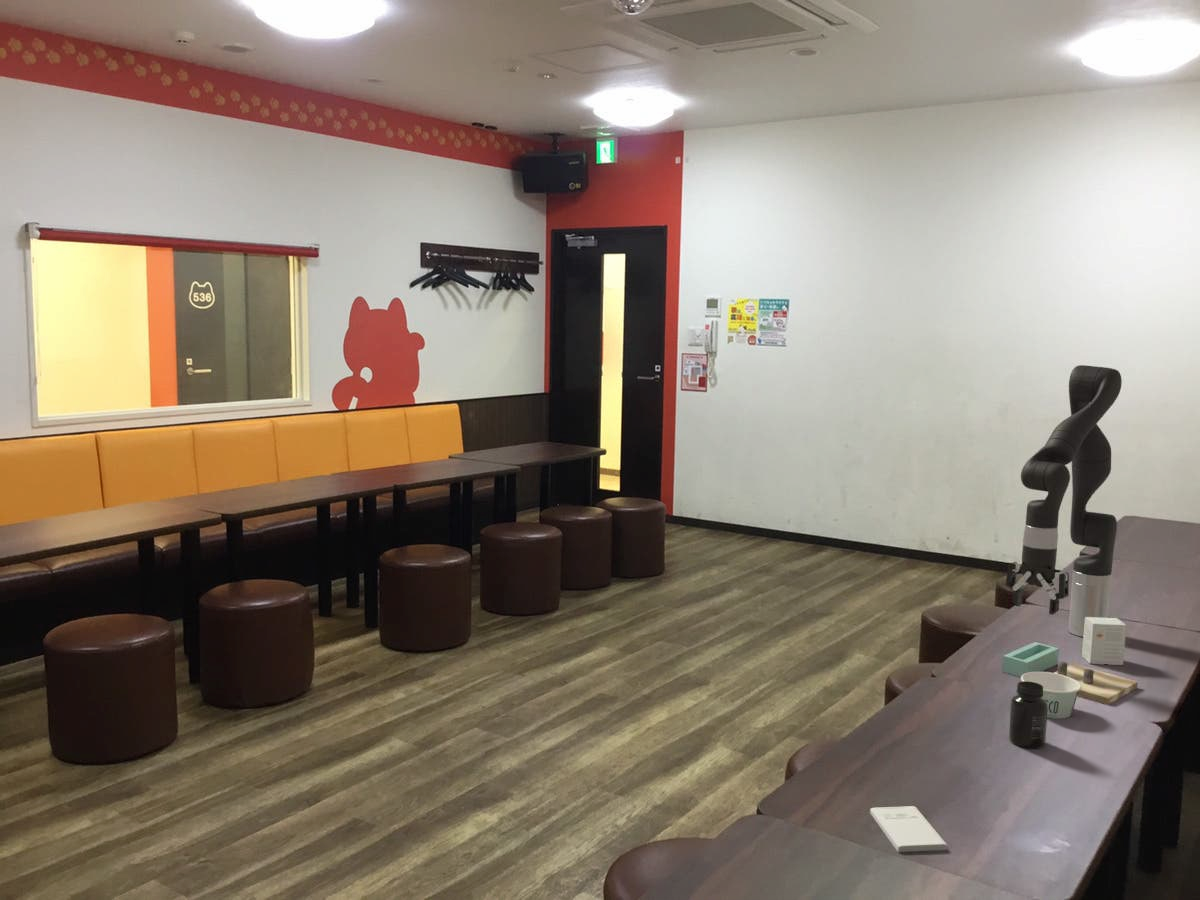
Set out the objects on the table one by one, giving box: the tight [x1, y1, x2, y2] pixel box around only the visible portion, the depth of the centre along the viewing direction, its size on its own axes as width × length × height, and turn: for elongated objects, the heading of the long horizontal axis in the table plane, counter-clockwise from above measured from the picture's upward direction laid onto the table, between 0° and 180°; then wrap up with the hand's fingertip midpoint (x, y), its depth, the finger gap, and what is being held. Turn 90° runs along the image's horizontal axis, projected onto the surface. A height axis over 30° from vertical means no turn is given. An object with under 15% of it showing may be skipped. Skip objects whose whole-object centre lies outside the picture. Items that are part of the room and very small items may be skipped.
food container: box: [1020, 671, 1081, 719], centre depth 214 cm, size 12×12×6 cm
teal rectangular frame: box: [1001, 641, 1060, 678], centre depth 240 cm, size 16×6×4 cm, turn 130°
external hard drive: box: [869, 805, 948, 853], centre depth 163 cm, size 2×8×12 cm
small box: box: [1081, 617, 1127, 666], centre depth 245 cm, size 8×6×10 cm
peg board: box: [1053, 661, 1139, 706], centre depth 228 cm, size 16×15×4 cm
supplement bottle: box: [1008, 680, 1048, 750], centre depth 197 cm, size 7×7×12 cm
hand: (1034, 609), depth 238 cm, fingers open, 8 cm apart
